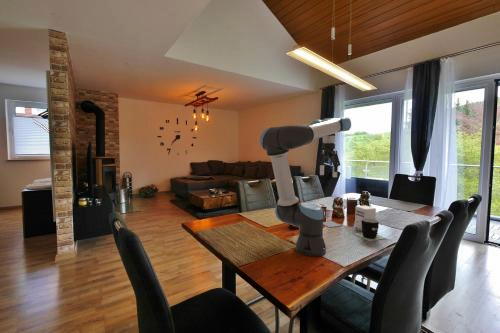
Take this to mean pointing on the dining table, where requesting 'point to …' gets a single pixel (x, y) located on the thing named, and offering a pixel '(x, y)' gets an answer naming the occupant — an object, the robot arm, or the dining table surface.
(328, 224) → the slate coaster
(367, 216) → the wall box
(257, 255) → the dining table surface
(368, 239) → the sage coaster
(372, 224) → the mug
